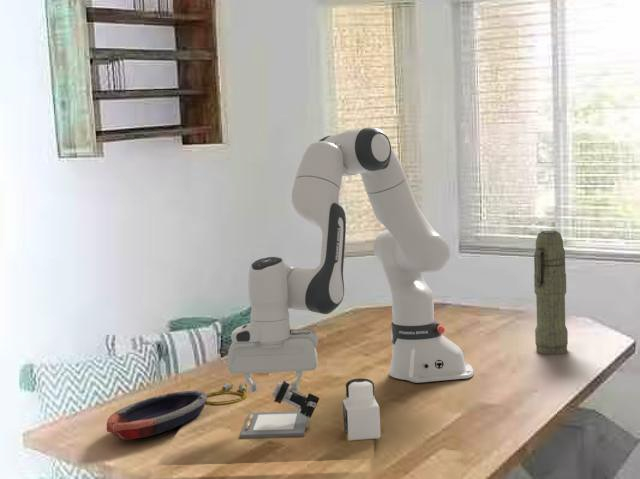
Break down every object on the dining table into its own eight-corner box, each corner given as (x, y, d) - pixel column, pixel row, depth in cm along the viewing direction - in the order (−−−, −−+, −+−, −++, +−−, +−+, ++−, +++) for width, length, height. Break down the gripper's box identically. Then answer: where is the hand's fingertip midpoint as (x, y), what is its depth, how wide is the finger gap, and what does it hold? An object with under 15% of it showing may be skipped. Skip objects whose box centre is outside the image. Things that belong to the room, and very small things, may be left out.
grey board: (308, 413, 210) (308, 407, 210) (304, 435, 195) (303, 429, 194) (249, 415, 211) (249, 409, 211) (240, 438, 195) (239, 431, 195)
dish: (225, 411, 216) (224, 391, 216) (131, 450, 191) (130, 428, 191) (179, 403, 225) (177, 384, 225) (83, 439, 200) (81, 418, 200)
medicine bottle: (344, 430, 197) (341, 377, 196) (376, 428, 197) (373, 375, 196) (347, 441, 190) (345, 386, 188) (381, 438, 190) (378, 383, 189)
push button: (310, 418, 198) (270, 398, 199) (305, 427, 202) (265, 408, 203) (321, 394, 202) (282, 374, 203) (316, 403, 206) (277, 384, 207)
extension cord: (266, 393, 231) (265, 385, 231) (223, 409, 219) (223, 401, 219) (232, 387, 239) (231, 379, 239) (189, 402, 227) (188, 394, 226)
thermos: (576, 350, 258) (574, 229, 254) (554, 359, 249) (551, 234, 246) (549, 346, 264) (546, 228, 260) (527, 354, 256) (524, 233, 252)
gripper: (317, 325, 203) (321, 384, 205) (228, 329, 204) (232, 388, 206) (316, 331, 197) (319, 392, 198) (224, 335, 198) (228, 396, 199)
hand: (274, 390), depth 202 cm, fingers open, 8 cm apart
